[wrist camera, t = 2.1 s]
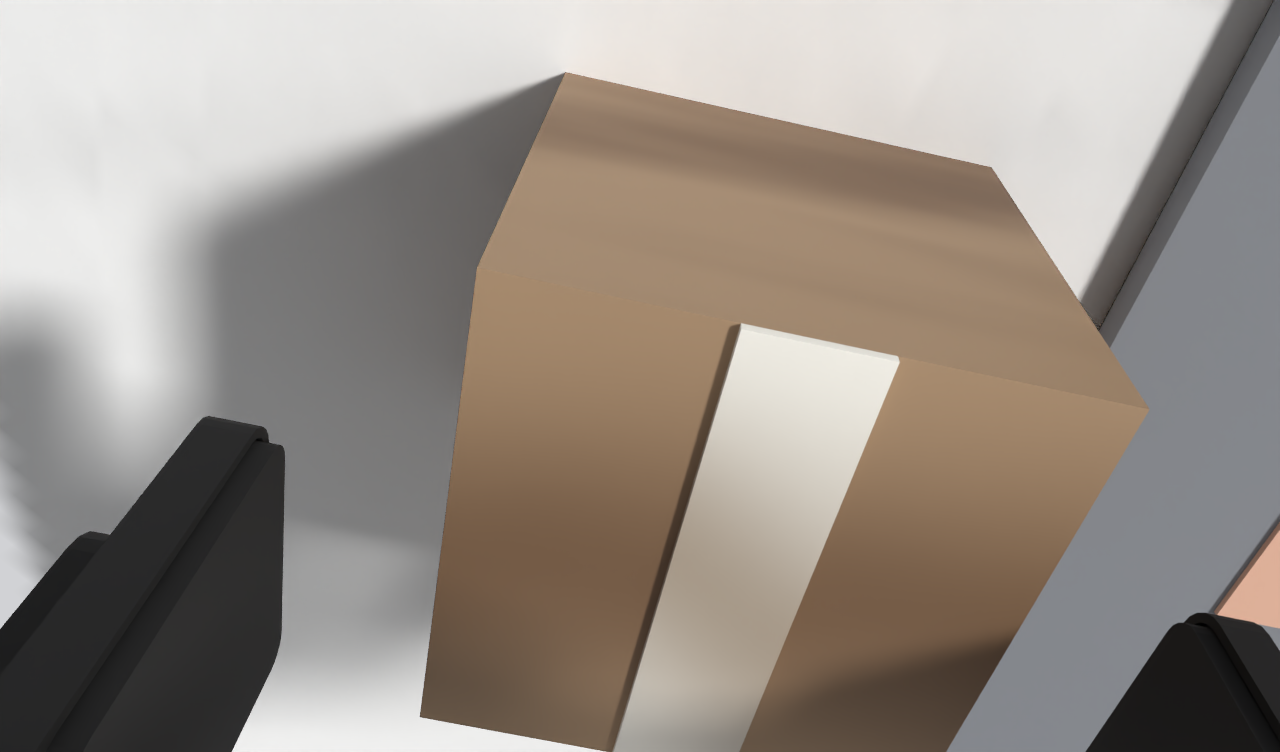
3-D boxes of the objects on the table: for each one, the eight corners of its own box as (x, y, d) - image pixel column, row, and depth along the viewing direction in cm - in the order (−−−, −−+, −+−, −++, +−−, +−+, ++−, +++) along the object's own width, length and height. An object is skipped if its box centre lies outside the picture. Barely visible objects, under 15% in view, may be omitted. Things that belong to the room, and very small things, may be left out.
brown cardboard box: (566, 70, 13) (474, 273, 8) (989, 165, 14) (1153, 416, 9) (509, 422, 17) (417, 724, 12) (853, 492, 17) (914, 815, 12)
